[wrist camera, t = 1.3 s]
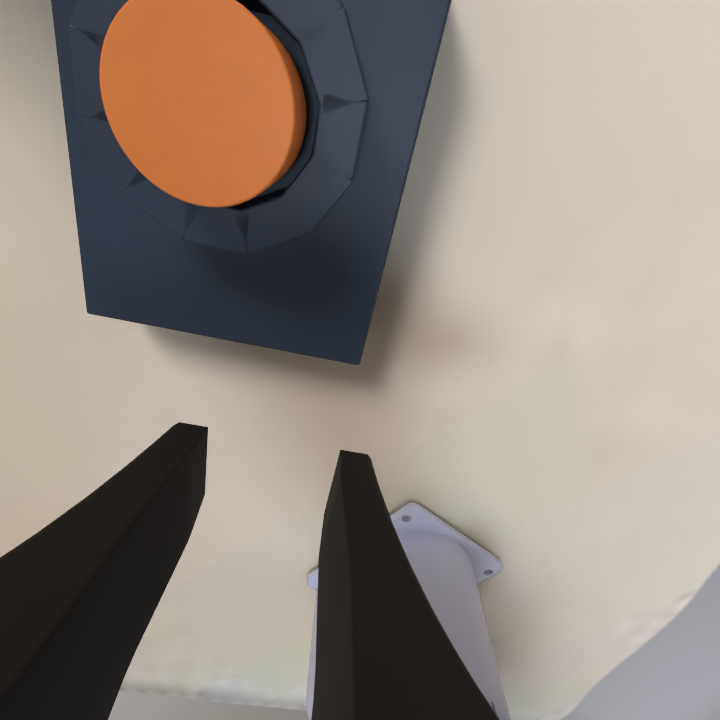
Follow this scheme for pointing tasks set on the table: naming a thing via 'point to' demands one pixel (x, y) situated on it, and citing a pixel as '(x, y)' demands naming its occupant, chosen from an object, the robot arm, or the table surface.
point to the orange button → (202, 98)
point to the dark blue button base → (274, 205)
